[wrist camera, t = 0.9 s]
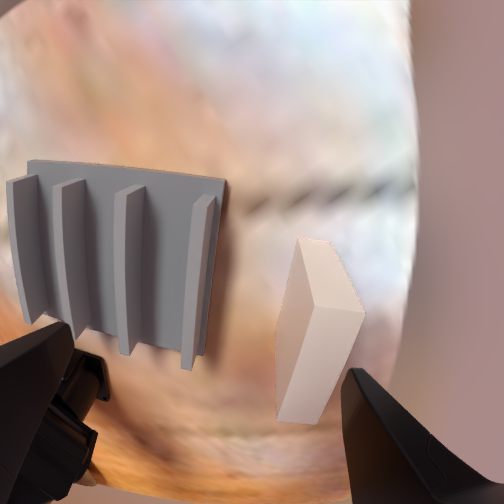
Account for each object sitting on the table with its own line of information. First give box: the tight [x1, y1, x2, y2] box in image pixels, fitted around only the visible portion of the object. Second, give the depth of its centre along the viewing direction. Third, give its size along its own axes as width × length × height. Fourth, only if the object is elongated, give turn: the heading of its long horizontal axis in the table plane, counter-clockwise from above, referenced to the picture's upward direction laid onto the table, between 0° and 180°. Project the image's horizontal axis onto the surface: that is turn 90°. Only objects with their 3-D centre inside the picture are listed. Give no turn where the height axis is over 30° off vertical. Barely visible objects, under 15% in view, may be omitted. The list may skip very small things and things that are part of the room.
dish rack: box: [6, 160, 226, 371], centre depth 21 cm, size 14×16×4 cm
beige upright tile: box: [275, 236, 366, 425], centre depth 19 cm, size 8×2×9 cm, turn 171°
